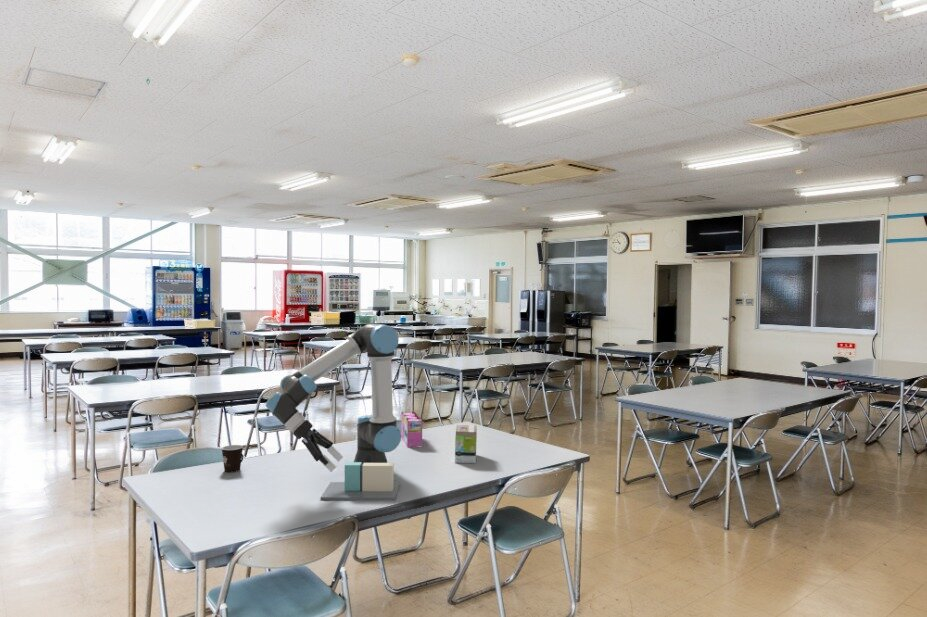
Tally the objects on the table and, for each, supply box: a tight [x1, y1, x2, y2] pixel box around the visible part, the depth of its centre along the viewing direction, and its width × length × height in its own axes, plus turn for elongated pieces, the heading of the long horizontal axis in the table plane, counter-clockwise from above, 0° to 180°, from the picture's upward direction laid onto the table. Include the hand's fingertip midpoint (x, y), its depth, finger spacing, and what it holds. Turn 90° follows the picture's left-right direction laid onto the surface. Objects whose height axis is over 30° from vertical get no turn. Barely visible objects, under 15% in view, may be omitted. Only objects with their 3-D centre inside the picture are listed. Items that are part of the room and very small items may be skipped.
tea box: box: [454, 424, 478, 464], centre depth 280 cm, size 15×10×15 cm, turn 179°
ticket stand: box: [320, 462, 400, 501], centre depth 232 cm, size 28×18×11 cm, turn 91°
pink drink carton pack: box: [400, 411, 423, 448], centre depth 312 cm, size 24×8×14 cm, turn 14°
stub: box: [344, 461, 362, 491], centre depth 232 cm, size 6×4×10 cm, turn 91°
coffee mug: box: [221, 444, 244, 473], centre depth 257 cm, size 12×9×10 cm
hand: (337, 464), depth 232 cm, fingers open, 13 cm apart
